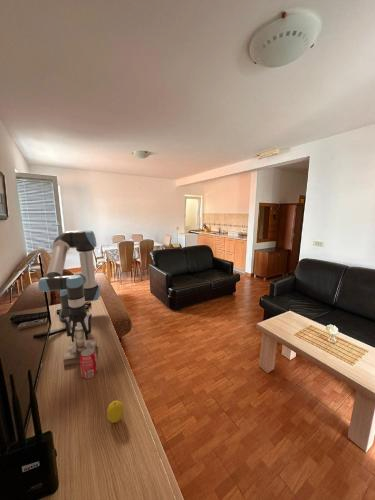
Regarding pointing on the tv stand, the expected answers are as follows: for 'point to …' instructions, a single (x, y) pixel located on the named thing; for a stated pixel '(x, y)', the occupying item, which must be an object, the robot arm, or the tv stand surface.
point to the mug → (80, 323)
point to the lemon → (115, 411)
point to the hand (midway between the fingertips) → (80, 345)
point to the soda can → (88, 363)
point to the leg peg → (79, 339)
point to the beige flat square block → (76, 352)
